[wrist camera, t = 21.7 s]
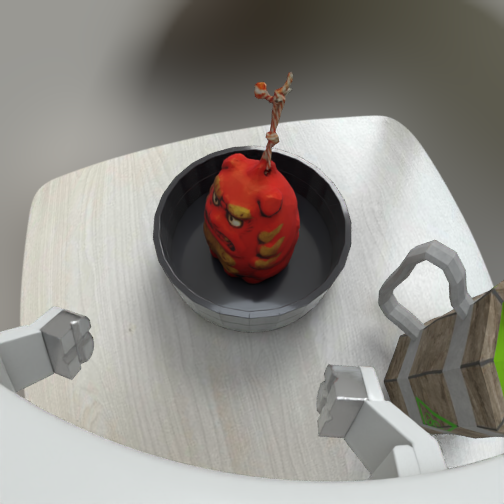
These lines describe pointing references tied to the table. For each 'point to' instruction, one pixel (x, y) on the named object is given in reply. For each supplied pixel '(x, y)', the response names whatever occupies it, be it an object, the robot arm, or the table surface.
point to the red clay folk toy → (253, 208)
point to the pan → (234, 288)
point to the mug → (448, 353)
